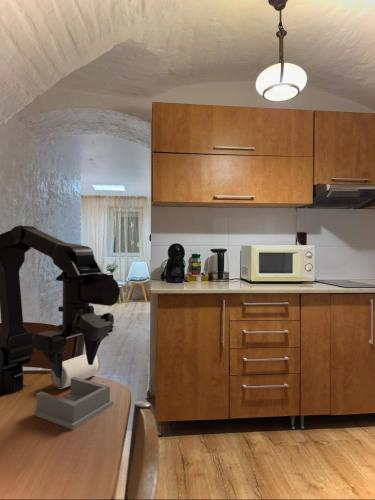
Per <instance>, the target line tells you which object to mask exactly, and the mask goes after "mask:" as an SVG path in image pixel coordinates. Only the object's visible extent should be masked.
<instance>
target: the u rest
mask: <svg viewBox="0 0 375 500" xmlns="http://www.w3.org/2000/svg"><path fill="white" fill-rule="evenodd" d="M35 401H36V403H35V404H36V406H35V408H36V409H35V410H33V416H35V417H38V418H40V419H43V420H46V421H48V422H52V423H54V424H56V425H60V426H62V427H64V428H68V429H70V430H73V431H74V430H76V429H77V428H79V427H80V426H82V425H84V424H85V423H87V422H88V421H90V420H92V419H93V418H95V417H96V416H98V415H100V414H102V412H105V411H107V409H109V408H111V407H112V406H114V400H111V386H109V385H106V384H102V383H99V382H94V381H91V380H86V379H81V378H77V377H73V378H71V385H70V392H69V393H67V394H65V395H63V396H61V397H60V396H56V395H54V394H50V393H48V392H44V391H39V392H36V400H35Z"/></svg>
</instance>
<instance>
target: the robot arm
mask: <svg viewBox="0 0 375 500" xmlns="http://www.w3.org/2000/svg"><path fill="white" fill-rule="evenodd" d="M31 249H34V250H35V251H38V252H40V253H41V254H43V255H45V256H47V257H49V258H50V259H51V260H52V263H53V265H55V267H57V268H58V269H59V270H60V271H62V272H61V273H60V274H58V275H57V277H55V281H57V282H62V305H60V306H58V312H60V313H61V312H62V314H61V315H62V319H61V320H62V323H61V324H58V328H57V330H60V331H55V330H50V329H49V330H45V331H44V330H43V331H41V332H37V333H34V332H32V331H28V329H27V328H26V327H25V326H24V317H23V316H24V315H23V313H24V312H23V305H22V292H21V291H22V290H21V279H20V277H21V275H20V269H21V268H22V266H23V264H24V262H25V259H26V253H27V252H29V251H30V250H31ZM102 269H103V268H102V267H101V265H100V264H99V261H98V260H97V258H96V257H95V255H94V250H93V249H92V248H91V247H90V246H87V245H84V244H83V245H82V244H77V243H70V242H65V241H63V240H61V239H60V238H56V237H54V236H52V235H50V234H49V233H46V232H44V231H42V230H40V229H38V228H37V227H35V226H32V225H22V224H21V225H20V224H19V225H17V226H16V225H15V226H14V227H13V228H11V230H8V231H5V232H3V233H1V234H0V322H1V323H0V324H1V330H0V395H1V396H0V397H2V396H4V395H7V394H15V393H17V392H19V391H22V390H23V389H24V388H25V387H27V385H26V384H24V366H25V365H28V364H31V359H32V356H33V354H34V349H35V350H36V349H37V351H38V352H39V351H40V352H42V354H43V355H44V357H45V358H46V360H47V361H48V364H49V365H50V367H51V369H52V370H53V371H54V373H55V375H56V377H57V378H61V376H62V362H63V361H64V360H63V359H64V358H63V355H64V354H65V353H66V351H67V350H68V348H67V347H65V346H66V344H67V341H68V340H71V339H74V338H77V337H81V336H83V341H84V349H85V354H86V356H87V361H88V364H89V365H92V364H93V362H94V359H95V356H97V354H98V350H99V348H100V345H101V343H102V341H103V340H104V339H106V338H107V337H109V335H110V334H109V333H112V332H113V329H114V323H115V318H114V317H115V316H114V314H113V313H111V312H105V313H102V314H96V313H95V308H94V305H99V306H107V307H112V306H113V305H115V304H116V303H117V302H118V300H119V298H120V295H121V294H120V293H121V289H120V288H121V287H120V286H119V283H118V282H117V280H116V279H114V273H109V272H108V273H104V271H103V270H102ZM33 333H34V334H33Z"/></svg>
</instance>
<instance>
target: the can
mask: <svg viewBox="0 0 375 500" xmlns="http://www.w3.org/2000/svg"><path fill="white" fill-rule="evenodd" d="M100 367H101V365H100V359H99V358H98V357H97V355H96V356H95V359H94V362H93V364H92V365H89V364H88V361H87V356H86V353H84V354H81V355H79V356H75V357H72V358H70V359H67V360H63V362H62V376H61V378H57V377H56V375H55V373H54V371H53V370H52V368H51V370H50V376H49V377H50V380H51V381H50V382H51V383H52V385H53V386H54V387H55V388H56V389H59V390H62V389H65V388H67V387H71V378H73V377H77V378H81V379H84V380H86V379H89V378H91V377H93V376H94V375H95V374H96V373H98V371H99V370H100Z"/></svg>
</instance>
